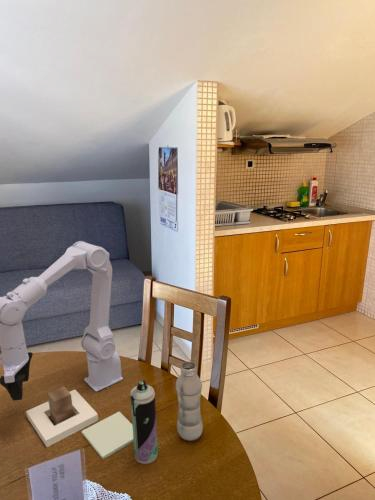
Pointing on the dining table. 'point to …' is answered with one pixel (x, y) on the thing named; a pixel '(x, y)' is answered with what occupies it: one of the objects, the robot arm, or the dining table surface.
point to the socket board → (67, 427)
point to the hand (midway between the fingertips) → (21, 389)
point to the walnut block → (60, 405)
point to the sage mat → (109, 435)
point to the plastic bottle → (189, 402)
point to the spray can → (144, 423)
